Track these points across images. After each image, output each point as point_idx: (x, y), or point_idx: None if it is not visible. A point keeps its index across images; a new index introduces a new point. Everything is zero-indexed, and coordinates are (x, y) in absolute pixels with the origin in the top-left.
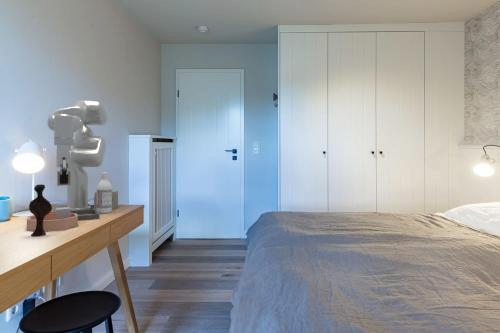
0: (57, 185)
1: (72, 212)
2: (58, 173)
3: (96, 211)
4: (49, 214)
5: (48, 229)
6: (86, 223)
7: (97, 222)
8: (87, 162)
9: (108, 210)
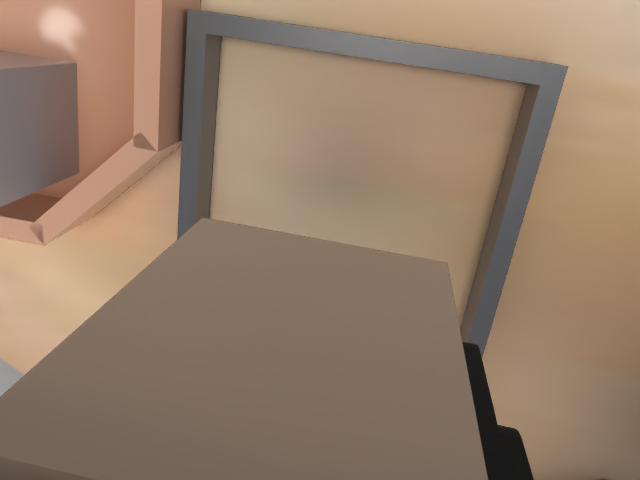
0: (200, 219)
1: (479, 286)
2: (11, 426)
3: None
4: (141, 17)
5: None
6: (43, 268)
7: (52, 338)
8: None
9: None
